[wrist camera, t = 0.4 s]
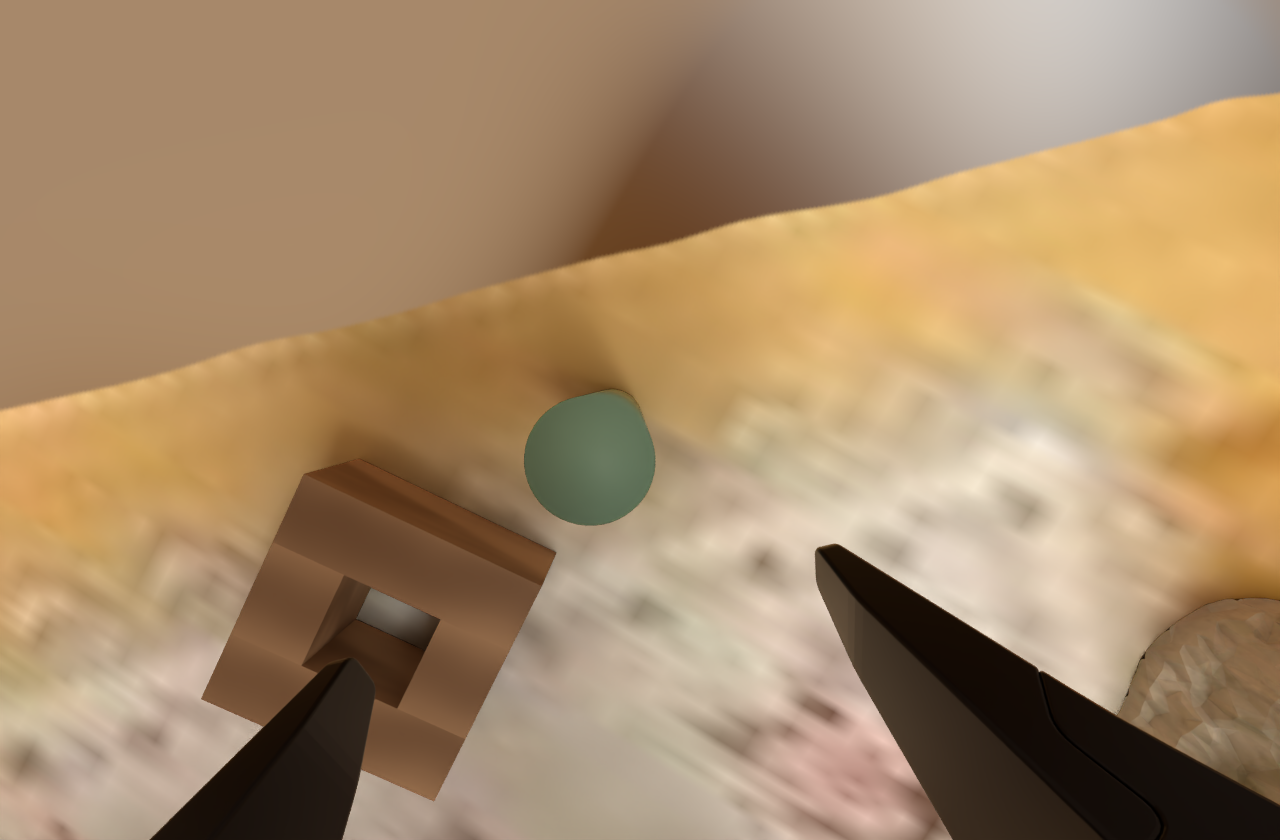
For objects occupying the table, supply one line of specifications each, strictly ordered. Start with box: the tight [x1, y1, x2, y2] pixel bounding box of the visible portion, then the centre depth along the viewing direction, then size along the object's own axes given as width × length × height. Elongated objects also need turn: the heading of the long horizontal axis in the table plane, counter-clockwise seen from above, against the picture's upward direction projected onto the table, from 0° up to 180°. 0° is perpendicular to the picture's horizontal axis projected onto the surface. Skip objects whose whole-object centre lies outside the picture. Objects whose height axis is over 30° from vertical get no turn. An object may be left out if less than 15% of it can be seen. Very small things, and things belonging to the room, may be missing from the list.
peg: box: [524, 389, 655, 525], centre depth 17 cm, size 3×3×13 cm
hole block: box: [201, 459, 556, 801], centre depth 22 cm, size 11×11×4 cm
